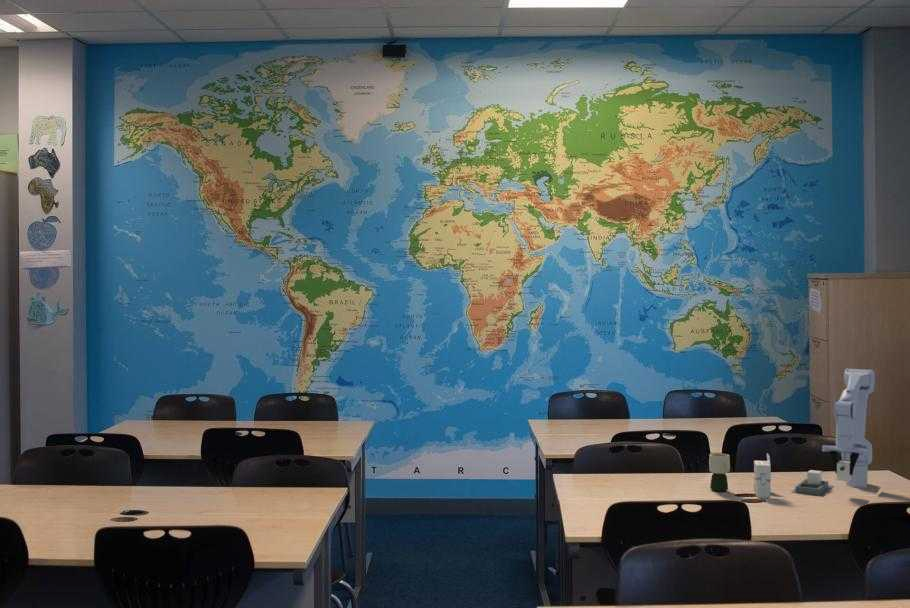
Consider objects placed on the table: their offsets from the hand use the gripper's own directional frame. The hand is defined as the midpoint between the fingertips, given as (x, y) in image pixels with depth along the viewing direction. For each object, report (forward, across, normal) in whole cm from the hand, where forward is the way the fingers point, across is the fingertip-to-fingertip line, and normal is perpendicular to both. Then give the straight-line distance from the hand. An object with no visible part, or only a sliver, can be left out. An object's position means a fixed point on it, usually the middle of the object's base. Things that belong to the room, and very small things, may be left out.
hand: (844, 473), depth 318 cm
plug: (+2, 0, -1) cm, 2 cm away
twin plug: (+8, -11, +9) cm, 16 cm away
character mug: (+9, -40, -11) cm, 43 cm away
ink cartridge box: (+9, -26, -11) cm, 29 cm away
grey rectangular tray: (+9, -11, +5) cm, 15 cm away
